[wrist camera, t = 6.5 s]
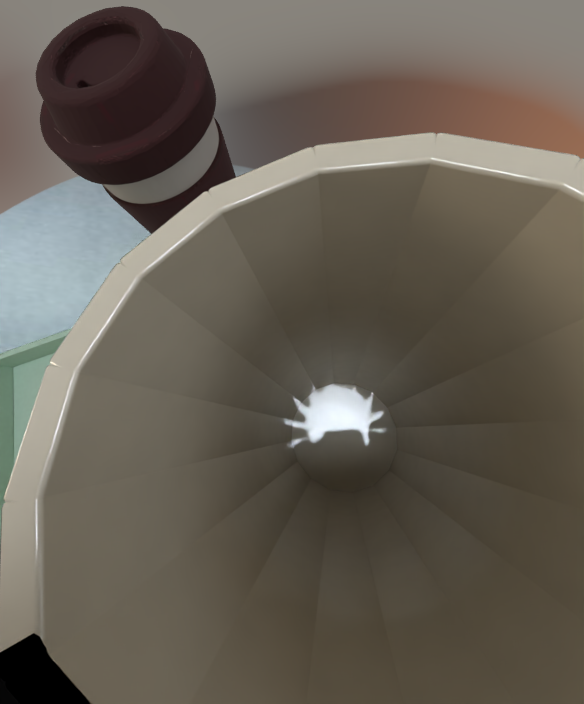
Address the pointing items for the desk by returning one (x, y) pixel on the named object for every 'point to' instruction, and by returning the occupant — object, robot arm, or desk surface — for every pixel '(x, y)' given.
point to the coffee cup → (133, 112)
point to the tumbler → (317, 445)
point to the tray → (20, 397)
